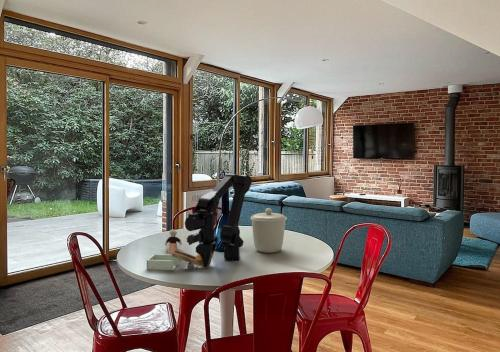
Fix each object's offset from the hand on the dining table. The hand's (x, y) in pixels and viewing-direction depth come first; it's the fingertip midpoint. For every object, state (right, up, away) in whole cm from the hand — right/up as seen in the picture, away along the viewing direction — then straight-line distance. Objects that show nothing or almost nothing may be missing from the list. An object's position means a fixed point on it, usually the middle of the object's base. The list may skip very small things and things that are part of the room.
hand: (207, 263), depth 157 cm
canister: (+27, 0, +28) cm, 39 cm away
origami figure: (-21, 0, +31) cm, 37 cm away
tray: (-19, -2, +1) cm, 19 cm away
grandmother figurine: (-18, -1, +17) cm, 25 cm away
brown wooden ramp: (-7, +1, 0) cm, 7 cm away
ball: (-3, +2, 0) cm, 4 cm away
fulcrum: (-7, -2, +1) cm, 7 cm away
